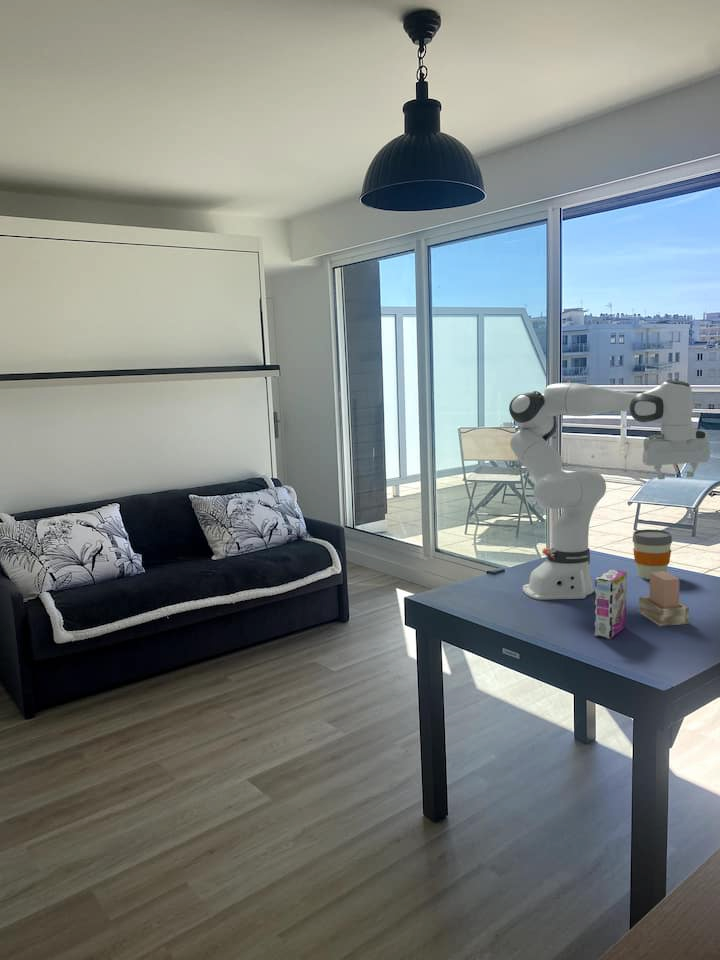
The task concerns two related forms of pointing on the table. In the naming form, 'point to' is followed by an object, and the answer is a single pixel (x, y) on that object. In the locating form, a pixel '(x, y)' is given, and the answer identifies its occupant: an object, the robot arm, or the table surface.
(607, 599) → the candy bar box
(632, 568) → the table surface
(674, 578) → the peach block
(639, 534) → the reusable coffee cup
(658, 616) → the slot holder
